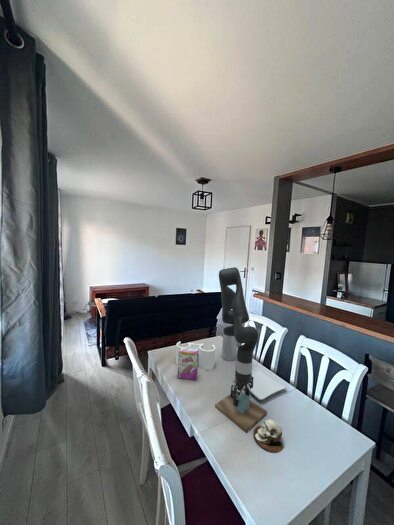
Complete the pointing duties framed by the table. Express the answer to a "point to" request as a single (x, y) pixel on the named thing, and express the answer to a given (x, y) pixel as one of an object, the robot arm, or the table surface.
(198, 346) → the bracket
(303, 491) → the table surface
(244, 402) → the slate cube
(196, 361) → the candy bar box
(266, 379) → the salad plate
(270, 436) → the skull
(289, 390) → the table surface
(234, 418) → the walnut board
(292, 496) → the table surface
